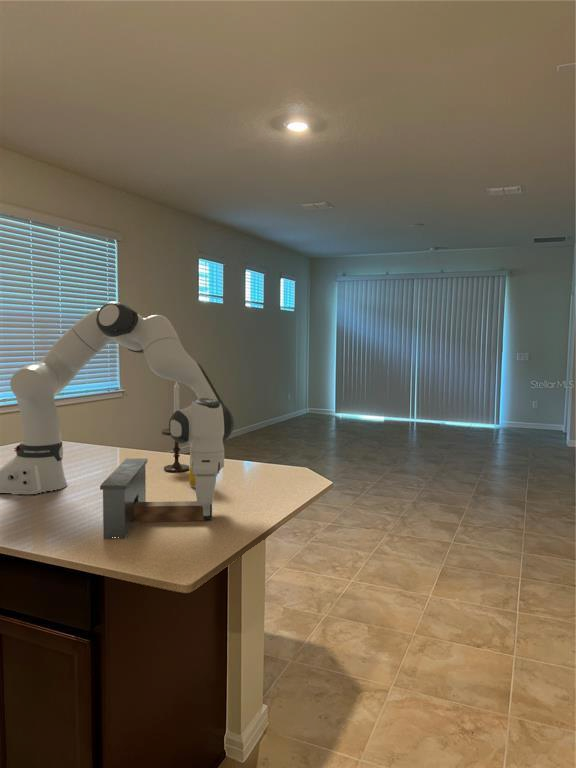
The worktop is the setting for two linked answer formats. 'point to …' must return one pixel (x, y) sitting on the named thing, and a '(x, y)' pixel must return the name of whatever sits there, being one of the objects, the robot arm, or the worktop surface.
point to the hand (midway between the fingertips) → (207, 511)
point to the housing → (123, 497)
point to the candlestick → (176, 466)
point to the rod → (170, 511)
